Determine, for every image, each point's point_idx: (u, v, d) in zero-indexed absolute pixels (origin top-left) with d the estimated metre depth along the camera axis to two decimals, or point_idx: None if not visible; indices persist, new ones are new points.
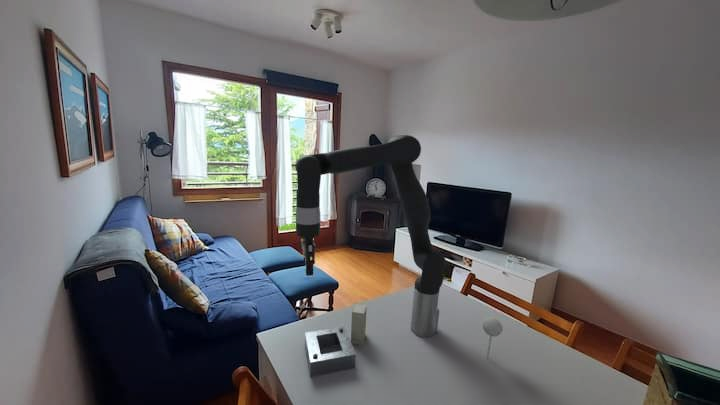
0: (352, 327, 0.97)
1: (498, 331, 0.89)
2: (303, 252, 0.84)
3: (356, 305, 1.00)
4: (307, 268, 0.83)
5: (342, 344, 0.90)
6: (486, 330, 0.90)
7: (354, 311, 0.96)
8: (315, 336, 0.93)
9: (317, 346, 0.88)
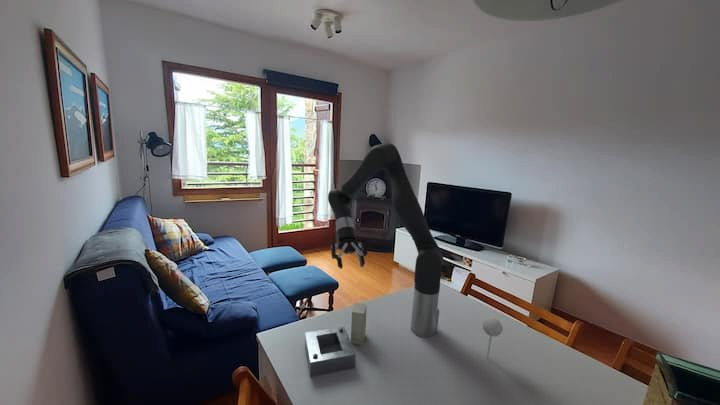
0: (352, 327, 0.97)
1: (498, 331, 0.89)
2: None
3: (356, 305, 1.00)
4: None
5: (342, 344, 0.90)
6: (486, 330, 0.90)
7: (354, 311, 0.96)
8: (315, 336, 0.93)
9: (317, 346, 0.88)
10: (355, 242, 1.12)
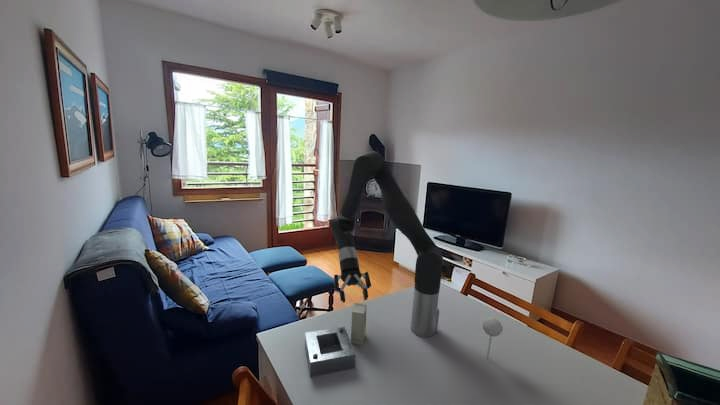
0: (352, 327, 0.97)
1: (498, 331, 0.89)
2: None
3: (356, 305, 1.00)
4: None
5: (342, 344, 0.90)
6: (486, 330, 0.90)
7: (354, 311, 0.96)
8: (315, 336, 0.93)
9: (317, 346, 0.88)
10: (358, 273, 1.09)
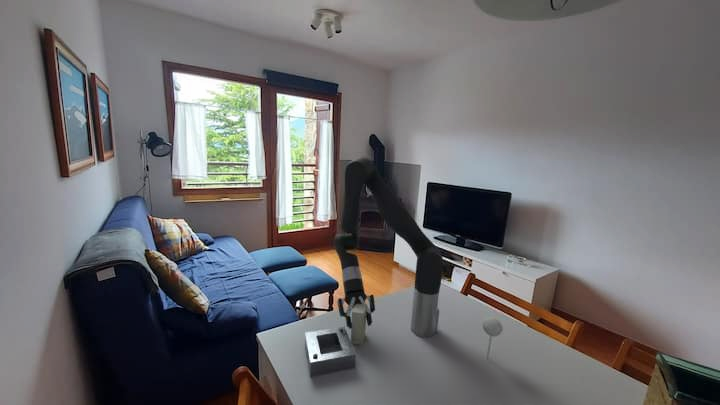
0: (352, 327, 0.97)
1: (499, 331, 0.89)
2: (349, 308, 1.02)
3: (356, 305, 1.00)
4: None
5: (342, 344, 0.90)
6: (486, 330, 0.90)
7: (354, 311, 0.96)
8: (315, 336, 0.93)
9: (317, 346, 0.88)
10: (363, 295, 1.03)
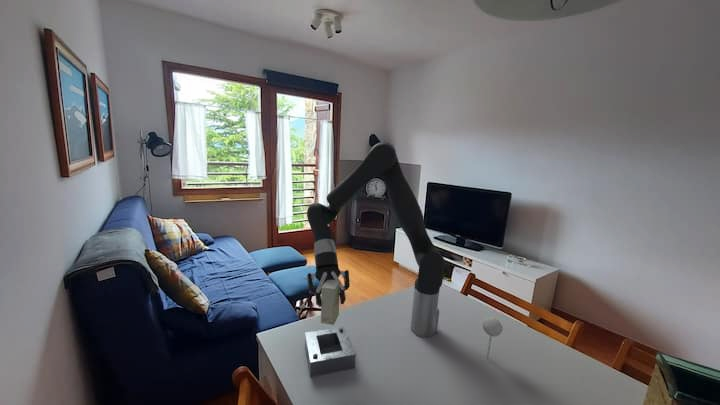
0: (322, 305, 0.85)
1: (498, 331, 0.89)
2: None
3: (327, 281, 0.88)
4: None
5: (342, 344, 0.90)
6: (486, 330, 0.90)
7: (324, 287, 0.85)
8: (315, 336, 0.93)
9: (317, 346, 0.88)
10: (337, 271, 0.92)
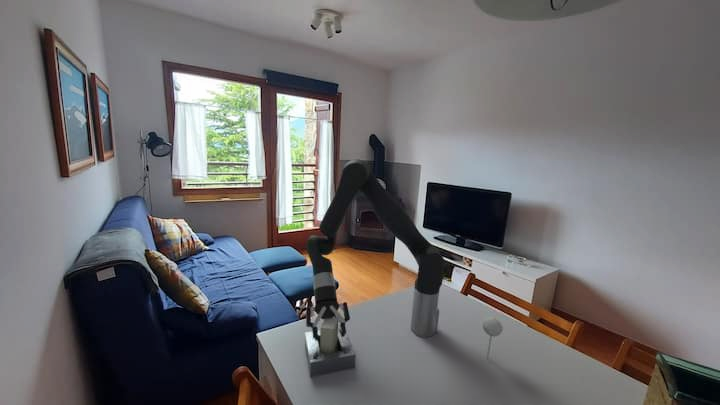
0: (321, 344, 0.88)
1: (499, 331, 0.89)
2: None
3: (326, 319, 0.91)
4: None
5: (342, 344, 0.90)
6: (486, 330, 0.90)
7: (323, 326, 0.87)
8: None
9: (317, 346, 0.88)
10: (335, 304, 0.94)
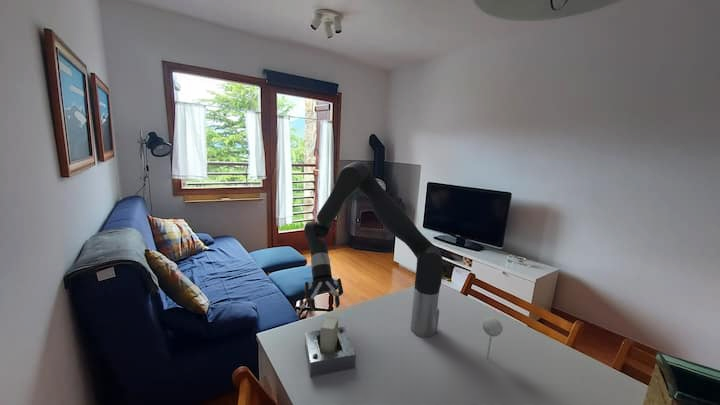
0: (321, 344, 0.88)
1: (499, 331, 0.89)
2: None
3: (326, 319, 0.91)
4: None
5: (342, 344, 0.90)
6: (486, 330, 0.90)
7: (323, 326, 0.87)
8: (315, 336, 0.93)
9: (317, 346, 0.88)
10: (330, 280, 1.06)
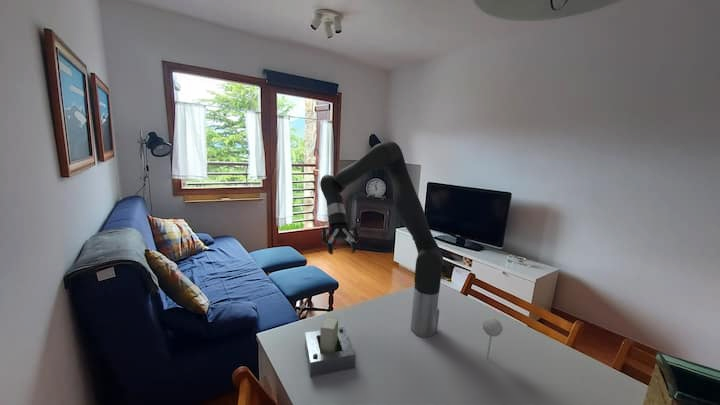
0: (321, 344, 0.88)
1: (499, 331, 0.89)
2: None
3: (326, 319, 0.91)
4: None
5: (342, 344, 0.90)
6: (486, 330, 0.90)
7: (323, 326, 0.87)
8: (315, 336, 0.93)
9: (317, 346, 0.88)
10: (346, 228, 1.10)
